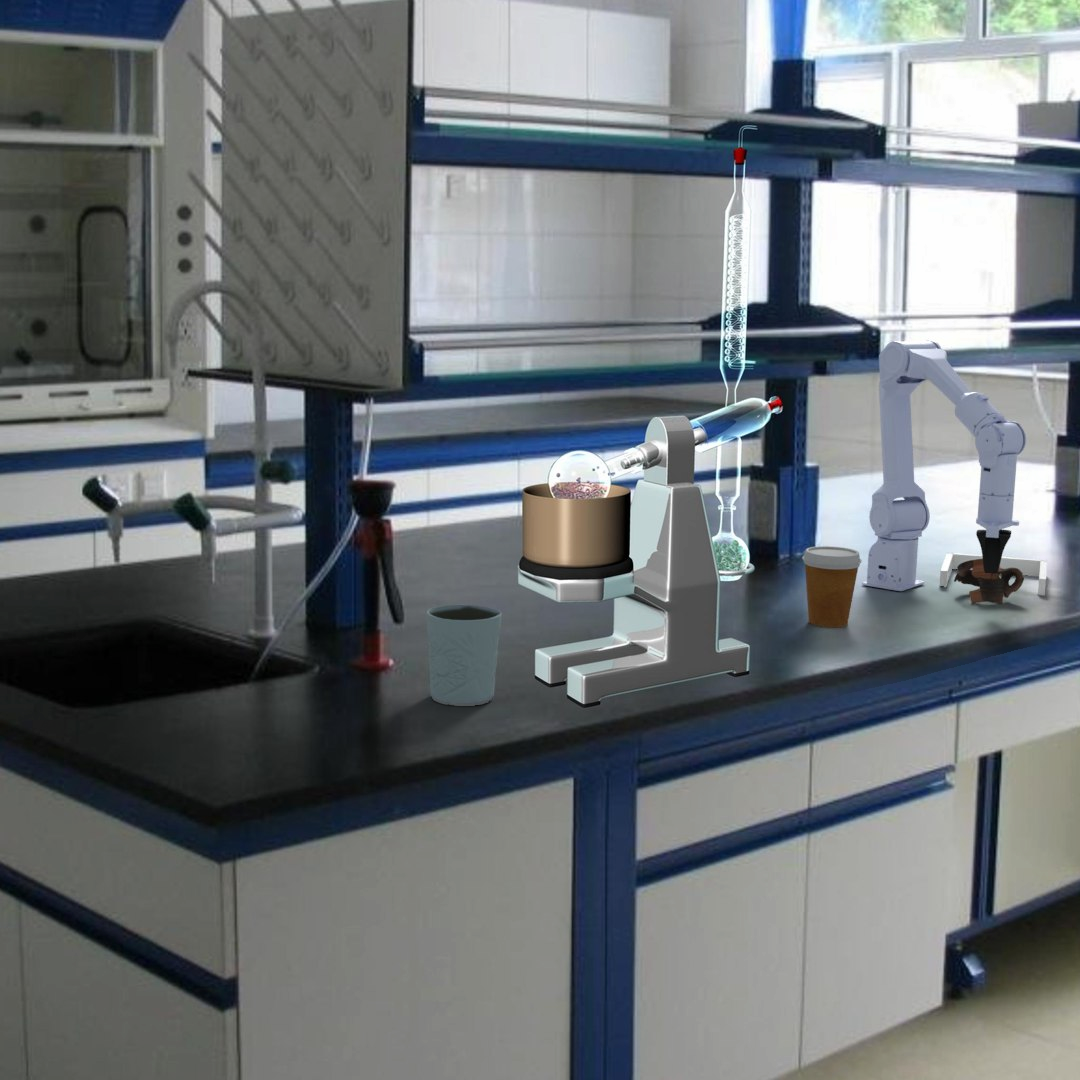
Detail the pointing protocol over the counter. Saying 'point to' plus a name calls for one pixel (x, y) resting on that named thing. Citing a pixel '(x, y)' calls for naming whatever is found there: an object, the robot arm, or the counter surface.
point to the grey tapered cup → (463, 652)
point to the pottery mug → (988, 581)
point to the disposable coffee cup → (830, 584)
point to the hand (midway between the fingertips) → (990, 572)
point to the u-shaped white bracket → (1024, 565)
